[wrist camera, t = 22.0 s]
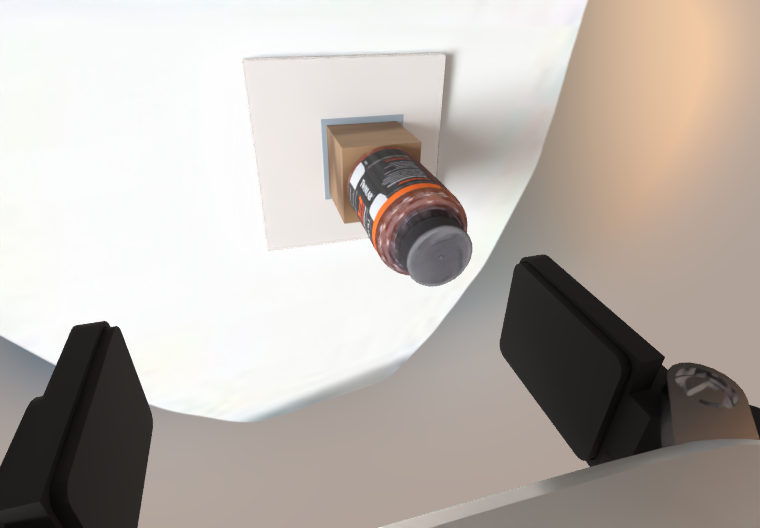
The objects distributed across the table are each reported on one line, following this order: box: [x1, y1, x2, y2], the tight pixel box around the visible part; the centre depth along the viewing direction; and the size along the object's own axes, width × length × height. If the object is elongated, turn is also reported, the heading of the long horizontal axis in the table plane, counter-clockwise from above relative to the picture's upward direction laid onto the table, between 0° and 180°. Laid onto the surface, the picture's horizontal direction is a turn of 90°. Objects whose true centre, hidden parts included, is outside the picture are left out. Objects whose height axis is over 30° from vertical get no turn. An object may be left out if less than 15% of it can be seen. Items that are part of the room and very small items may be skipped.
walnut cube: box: [327, 121, 422, 224], centre depth 37 cm, size 6×6×6 cm
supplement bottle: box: [347, 146, 472, 286], centre depth 30 cm, size 6×6×11 cm
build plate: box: [242, 53, 446, 251], centre depth 40 cm, size 16×16×1 cm
